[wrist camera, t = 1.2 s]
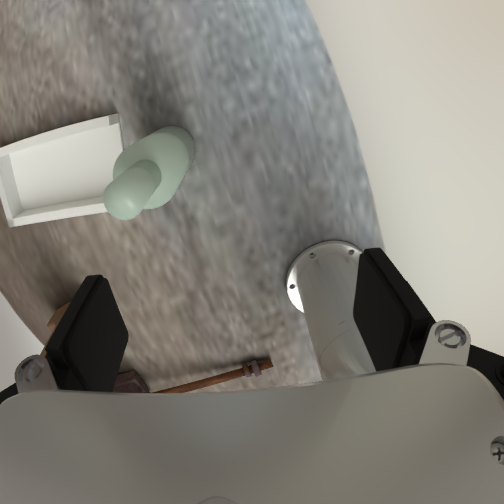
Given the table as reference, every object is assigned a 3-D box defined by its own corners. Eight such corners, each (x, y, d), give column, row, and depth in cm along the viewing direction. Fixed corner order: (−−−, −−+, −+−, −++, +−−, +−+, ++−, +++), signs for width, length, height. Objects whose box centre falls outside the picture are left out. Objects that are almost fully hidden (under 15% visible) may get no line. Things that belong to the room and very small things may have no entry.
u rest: (118, 113, 33) (108, 115, 30) (132, 199, 39) (124, 209, 36) (3, 146, 33) (-10, 151, 30) (21, 218, 39) (9, 227, 36)
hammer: (99, 378, 53) (94, 418, 45) (257, 327, 56) (274, 365, 48) (116, 398, 57) (115, 437, 48) (266, 351, 60) (282, 389, 51)
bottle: (192, 122, 35) (157, 150, 19) (198, 171, 38) (171, 235, 22) (144, 130, 35) (76, 165, 19) (151, 176, 38) (95, 242, 22)
